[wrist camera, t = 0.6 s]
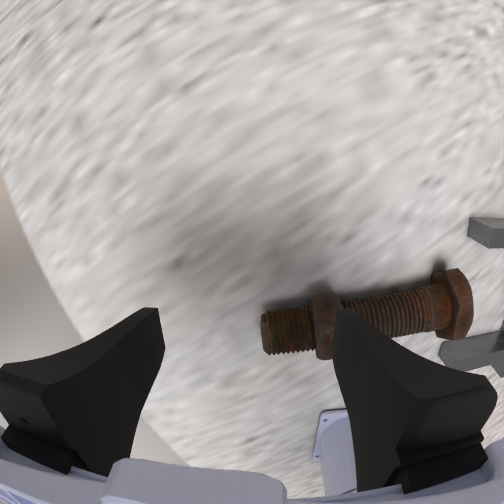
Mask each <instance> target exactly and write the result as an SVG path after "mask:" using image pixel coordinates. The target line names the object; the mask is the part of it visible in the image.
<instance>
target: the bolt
mask: <svg viewBox="0 0 504 504" xmlns="http://www.w3.org/2000/svg"><path fill="white" fill-rule="evenodd" d="M350 308H352V309H353V310H354V311H356V312H357V313H358V314H360V315H361V316H362V317H363V318H364V319H366V320H367V321H368V322H369V323H371V324H372V325H373V326H374V327H376V328H377V329H378V330H380V331H381V332H382V333H384V334H385V335H386V336H388V337H390V338H393V337H398V336H400V337H401V336H402V335H403V336H405V335H410V334H414V333H420V332H431V331H435V332H436V336H437V337H438V338H443V339H448V340H457V339H460V338H464V337H465V336H466V335H467V333H468V331H469V329H470V327H471V325H472V321H473V316H474V308H473V297H472V290H471V287H470V284H469V282H468V280H467V278H466V277H465V275H464V274H463V273H462V272H461V271H460V270H459V269H458V268H456V269H450V270H445V271H442V272H438V273H434V274H432V275H431V285H429V286H424V287H420V288H419V289H416V290H409V291H404V292H400V293H392V294H388V295H383V296H381V295H380V296H374V298H373V297H370V298H368V297H367V298H365V299H363V298H361V299H360V300H359V299H356V301H355V300H352V301H351V302H350V301H349V300H348V301H347V302H345V301H343V302H342V304H341V301H340V298H339V296H338V294H330V295H322V296H315V297H311V306H310V307H309V308H307V307H306V306H305V308H304V309H303V308H302V307H301V308H300V309H298V308H297V307H296V309H295V310H294V309H292V308H291V310H288V309H286V311H284V310H283V309H281V311H278V310H276V312H274V311H273V310H272V311H271V313H270V312H269V311H267V312H266V313H263V314H262V316H261V319H262V320H261V324H260V326H261V335H262V343H263V350H264V351H265V352H266V353H267V354H268V355H271V353H272V354H273V355H275V354H276V353H277V354H278V355H279V354H280V353H281V352H282V353H283V354H284V353H285V352H287V353H289V352H290V351H292V353H294V352H295V351H297V352H299V351H300V350H301V351H302V352H303V351H304V350H305V349H306V350H307V351H309V350H310V349H311V350H312V351H313V350H314V349H315V350H316V356H317V358H318V359H321V360H330V359H333V357H332V351H331V349H332V342H333V335H334V328H335V320H336V312H337V309H350Z"/></svg>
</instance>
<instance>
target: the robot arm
mask: <svg viewBox="0 0 504 504" xmlns="http://www.w3.org/2000/svg"><path fill="white" fill-rule="evenodd" d="M331 351H332V357H333V364H334V369H335V373H336V376H337V380H338V383H339V386H340V389H341V393H342V396H343V399H344V403H345V406H346V410H336V411H326V412H323V413H321V415H320V420H319V426H318V431H317V436H316V441H315V446H314V451H313V456H312V462H315V463H316V462H321V466H322V474H323V483H324V491H325V497H314V498H300V499H287V490H286V488H285V487H284V485H283V483H282V482H281V481H279V480H277V479H275V478H272V477H270V476H268V475H265V474H263V473H255V472H248V471H239V470H221V469H209V468H199V467H190V466H182V465H175V464H167V463H162V462H155V461H150V460H145V459H133V458H130V453H131V449H132V444H133V440H134V436H135V432H136V428H137V424H138V421H139V417H140V414H141V411H142V409H143V406H144V404H145V401H146V399H147V397H148V395H149V392H150V390H151V388H152V386H153V383H154V381H155V379H156V376H157V374H158V372H159V369H160V367H161V363H162V360H163V356H164V352H165V343H164V338H163V333H162V328H161V323H160V318H159V312H158V308H147V307H144V308H142V309H140V310H138V311H137V312H135V313H133V314H132V315H130V316H129V317H127V318H125V319H124V320H122V321H121V322H119V323H117V324H116V325H114V326H113V327H111V328H109V329H108V330H106V331H104V332H103V333H101V334H99V335H97V336H96V337H94V338H92V339H90V340H88V341H86V342H84V343H82V344H80V345H77V346H75V347H73V348H70V349H68V350H65V351H62V352H59V353H56V354H53V355H50V356H46V357H43V358H38V359H34V360H29V361H23V362H15V363H6V364H4V365H3V366H2V367H1V368H0V412H1V413H2V415H3V416H4V418H5V419H6V421H7V422H8V424H9V426H8V427H7V429H6V430H5V429H4V428H3V427H2V426H1V425H0V499H1V500H2V501H4V502H5V503H7V504H504V438H502V439H500V440H498V441H496V442H493V443H492V444H490V445H488V446H487V447H486V448H485V449H483V447H482V445H481V442H482V441H483V440H484V436H483V435H482V433H481V429H482V428H483V426H484V425H485V423H486V422H487V420H488V418H489V417H490V415H491V414H492V412H493V410H494V408H495V406H496V402H497V398H498V396H497V392H496V390H495V389H494V388H493V386H492V385H491V383H490V382H489V381H488V379H487V378H486V376H484V375H478V374H473V373H468V372H463V371H459V370H456V369H453V368H449V367H446V366H443V365H440V364H438V363H435V362H433V361H431V360H428V359H426V358H424V357H421V356H419V355H417V354H415V353H414V352H412V351H410V350H408V349H406V348H405V347H403V346H401V345H400V344H398V343H397V342H395V341H394V340H392V339H391V338H389V337H388V336H386V335H385V334H384V333H382V332H381V331H380V330H378V329H377V328H376V327H374V326H373V325H372V324H371V323H369V322H368V321H367V320H366V319H364V318H363V317H362V316H361V315H360V314H358V313H357V312H356V311H354V310H353V309H352V308H350V309H337V312H336V320H335V328H334V335H333V342H332V349H331Z"/></svg>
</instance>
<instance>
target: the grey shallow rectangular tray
mask: <svg viewBox="0 0 504 504" xmlns="http://www.w3.org/2000/svg"><path fill="white" fill-rule="evenodd" d="M467 236H468V237H470V238H472V239H473V240H475V241H477V242H479V243H480V244H482V245H484V246H485V247H487V248H489V249H491V248H504V219H493V218H471V217H470V220H469V228H468V235H467ZM438 356H439V357H440V359H441V360H442V361H443V363H444V365H445V366H446V367H449V368H453V369H456V370H459V371H463V372H465V371H469V370H473V369H477V368H480V367H484V366H488V365H491V366H492V367H493V368H494V370H495V371H496V372H497V373H498V375H499V376H500V377H501V378H502V377H504V322H503V324H502V327H501V330H500V331H497V332H492V333H488V334H483V335H478V336H473V337H468V338H463V339H457V340H452V341H446V342H442V345H441V348H440V351H439V354H438Z"/></svg>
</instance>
